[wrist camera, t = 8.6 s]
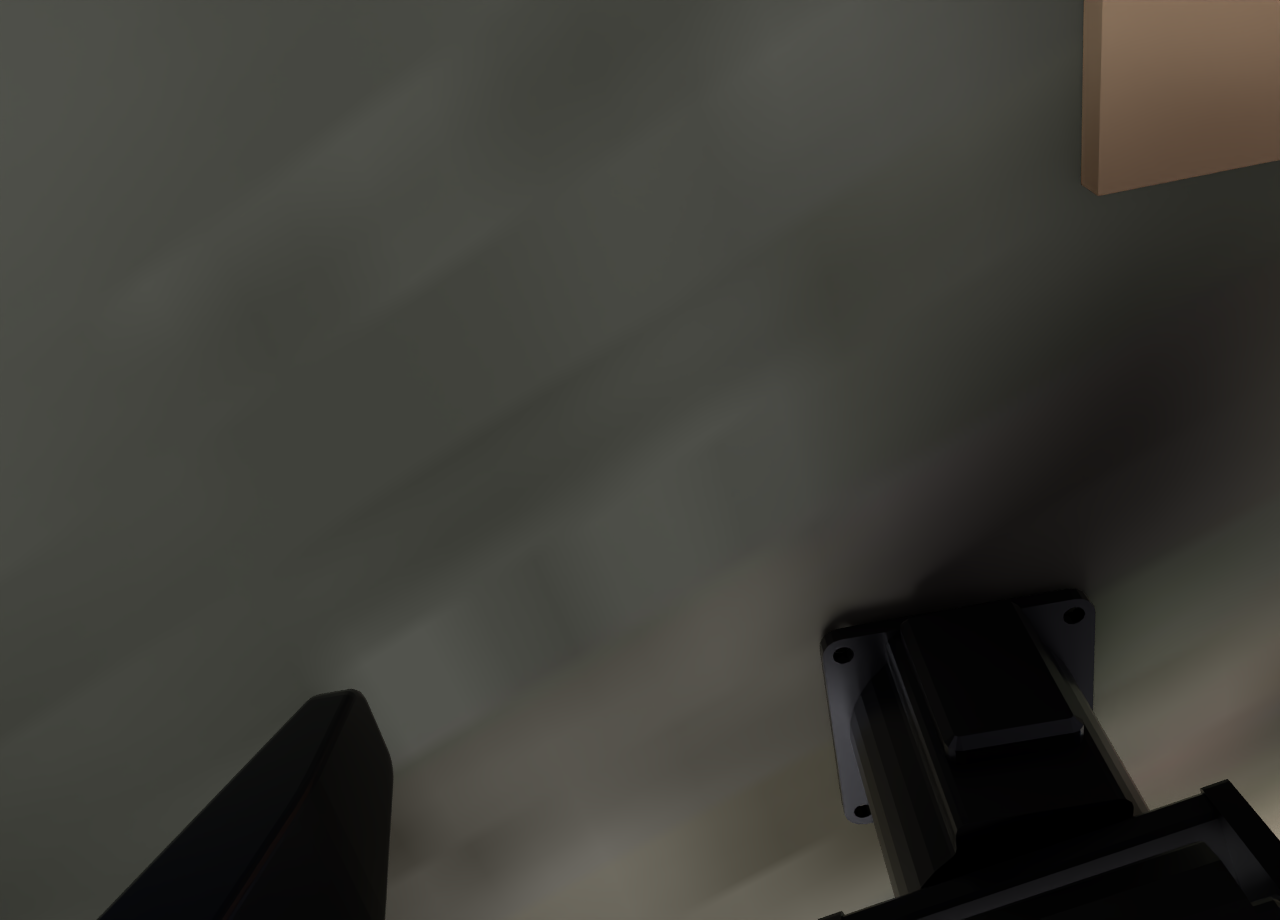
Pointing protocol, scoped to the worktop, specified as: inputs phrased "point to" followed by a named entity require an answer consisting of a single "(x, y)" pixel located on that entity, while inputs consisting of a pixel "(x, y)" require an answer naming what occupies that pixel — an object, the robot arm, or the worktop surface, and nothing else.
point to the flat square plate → (1177, 90)
